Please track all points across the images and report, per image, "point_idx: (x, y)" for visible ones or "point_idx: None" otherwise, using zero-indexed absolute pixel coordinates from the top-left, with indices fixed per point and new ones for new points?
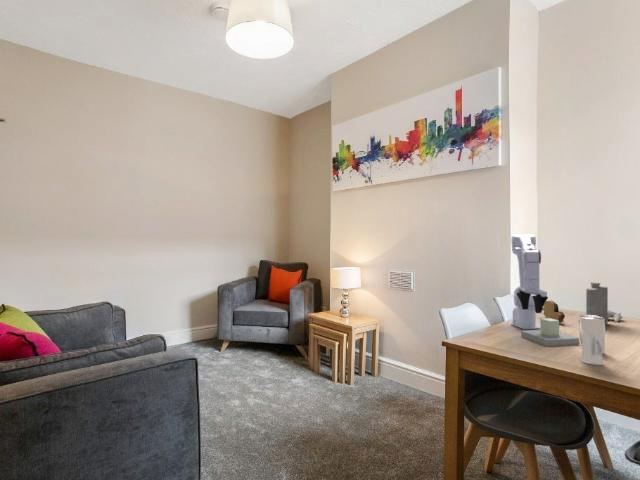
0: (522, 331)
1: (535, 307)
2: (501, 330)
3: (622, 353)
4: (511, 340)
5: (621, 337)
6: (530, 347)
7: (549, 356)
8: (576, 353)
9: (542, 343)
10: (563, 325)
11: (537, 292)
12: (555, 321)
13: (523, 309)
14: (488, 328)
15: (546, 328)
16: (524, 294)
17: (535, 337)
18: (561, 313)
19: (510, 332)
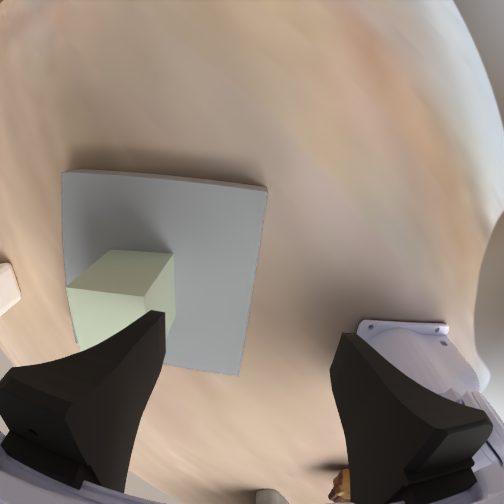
0: (254, 190)
1: (135, 333)
2: (408, 188)
3: (10, 342)
4: (215, 66)
5: (154, 473)
6: (89, 78)
7: (4, 82)
8: (3, 209)
9: (101, 171)
10: (324, 466)
11: (7, 480)
12: (78, 329)
13: (344, 333)
14: (459, 158)
15: (115, 266)
16: (390, 477)
17: (139, 175)
18: (340, 499)
19: (358, 200)
